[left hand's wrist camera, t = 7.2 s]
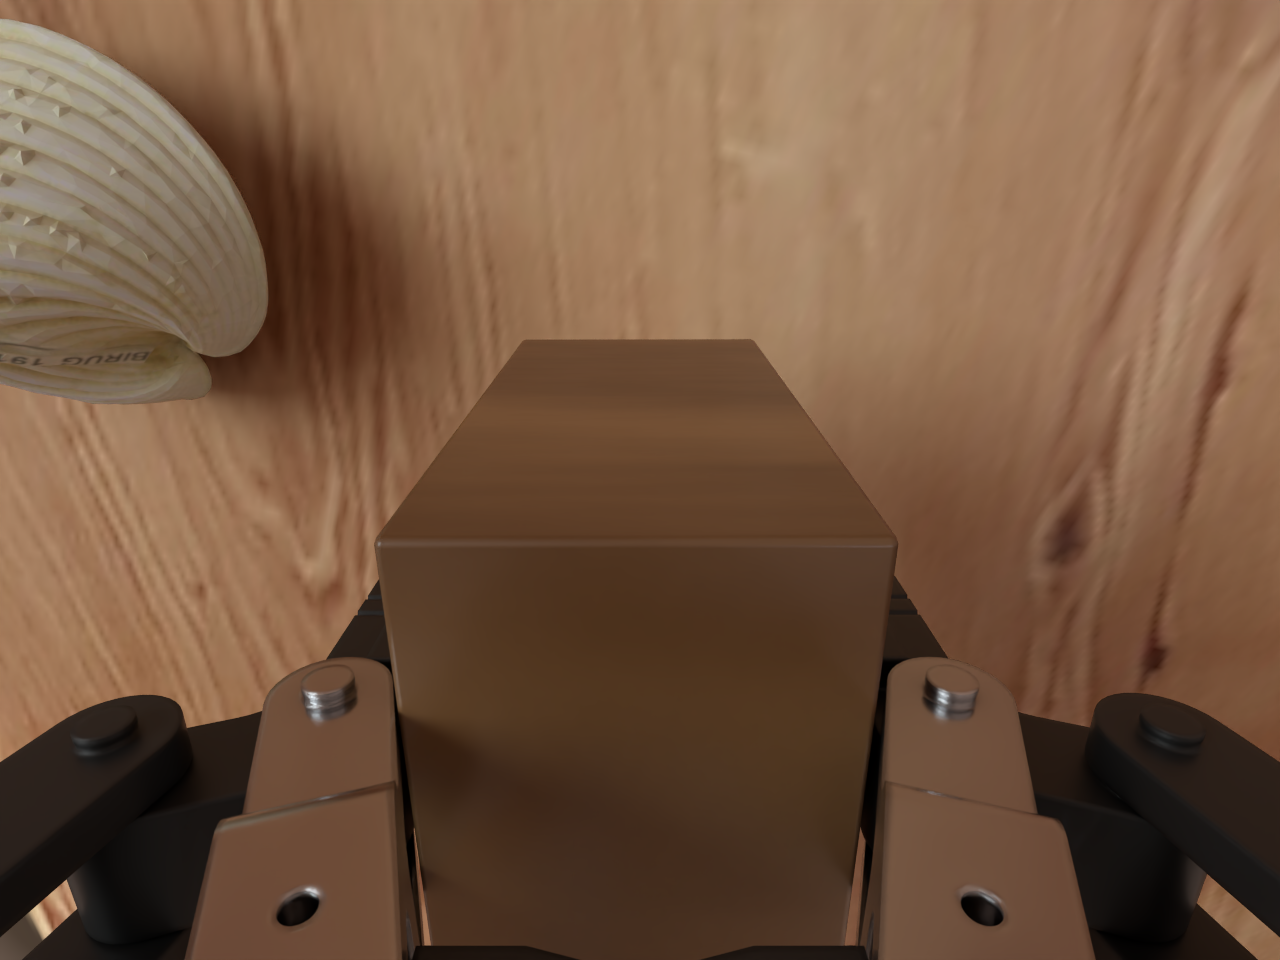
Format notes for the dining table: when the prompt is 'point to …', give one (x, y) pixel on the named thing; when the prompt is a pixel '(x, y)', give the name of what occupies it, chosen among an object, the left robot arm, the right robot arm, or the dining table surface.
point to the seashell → (113, 233)
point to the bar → (637, 657)
